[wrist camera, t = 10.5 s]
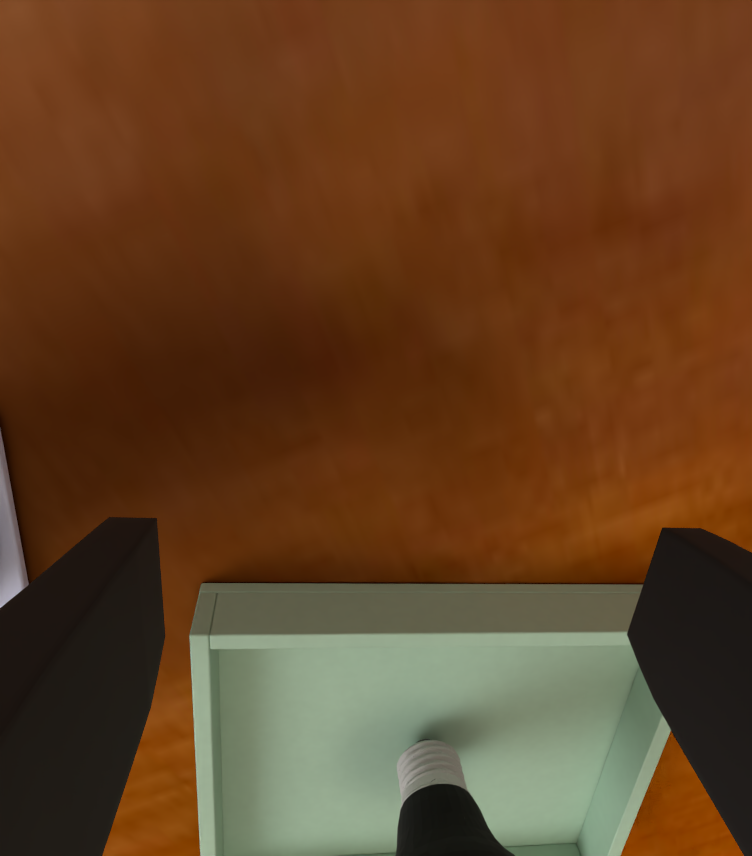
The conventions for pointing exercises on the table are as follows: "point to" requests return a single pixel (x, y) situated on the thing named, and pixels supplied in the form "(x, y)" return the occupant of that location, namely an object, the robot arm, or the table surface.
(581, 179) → the table surface
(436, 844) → the light bulb
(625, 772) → the tray
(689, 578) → the robot arm
